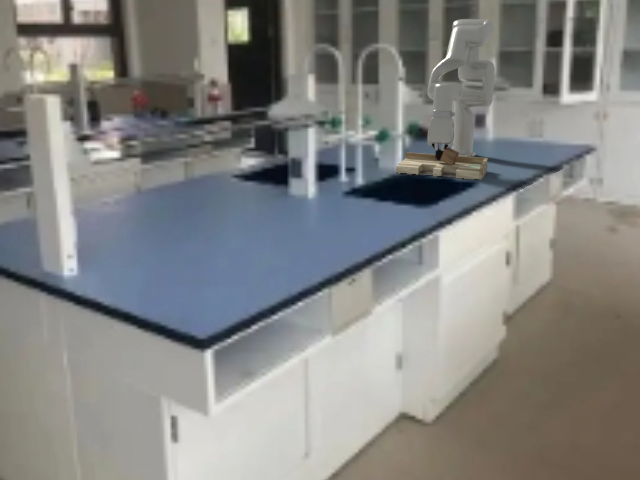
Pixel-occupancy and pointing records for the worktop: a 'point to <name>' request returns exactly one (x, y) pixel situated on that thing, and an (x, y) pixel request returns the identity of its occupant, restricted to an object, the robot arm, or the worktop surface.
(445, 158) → the walnut block
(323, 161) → the worktop surface
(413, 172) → the board
